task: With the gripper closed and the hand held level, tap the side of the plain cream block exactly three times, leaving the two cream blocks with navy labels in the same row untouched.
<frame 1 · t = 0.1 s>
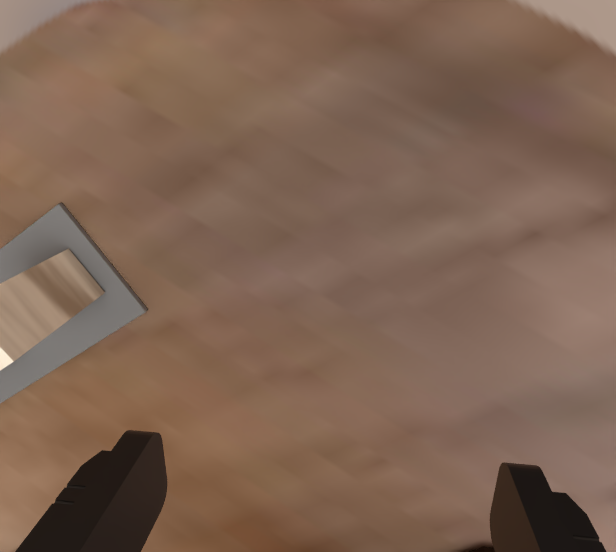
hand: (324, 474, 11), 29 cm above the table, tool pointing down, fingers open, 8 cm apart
plain block: (24, 311, 37), point 7 cm above the table, slide at 0.0 cm
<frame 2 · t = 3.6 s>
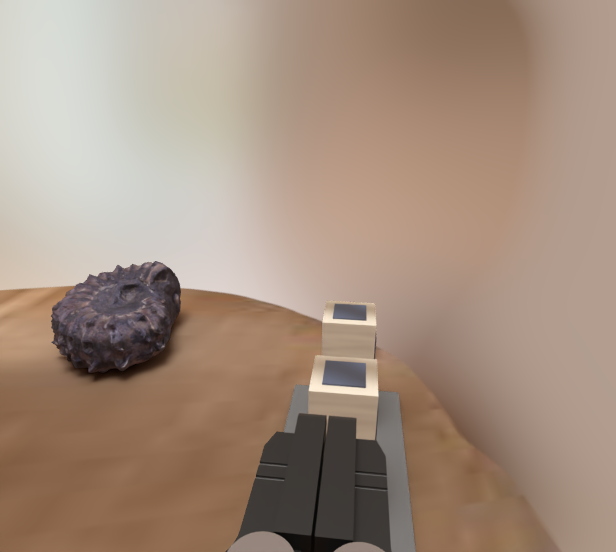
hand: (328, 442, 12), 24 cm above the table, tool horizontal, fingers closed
gray mat: (339, 498, 40), on the table
labelled block 2: (345, 413, 50), resting on gray mat
labelled block 1: (339, 493, 40), resting on gray mat
dark grey rough lump: (134, 345, 65), on the table
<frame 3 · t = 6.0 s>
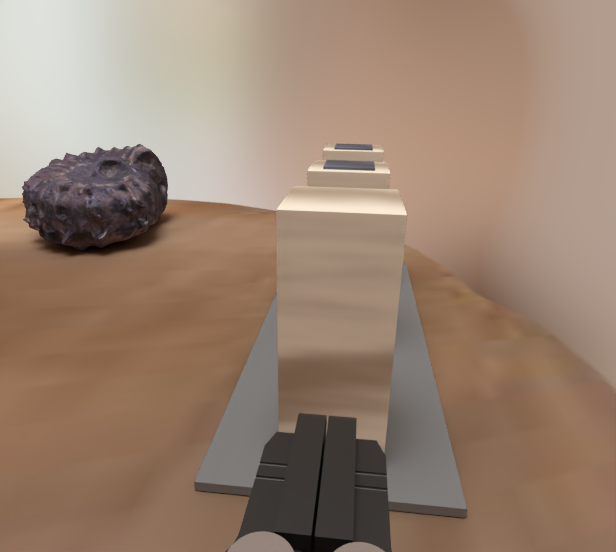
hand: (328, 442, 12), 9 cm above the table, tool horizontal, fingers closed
gray mat: (341, 335, 35), on the table
labelled block 2: (347, 276, 45), resting on gray mat
plain block: (338, 322, 22), point 7 cm above the table, slide at 0.0 cm
labelled block 1: (341, 329, 35), resting on gray mat
dark grey rough lump: (115, 235, 59), on the table
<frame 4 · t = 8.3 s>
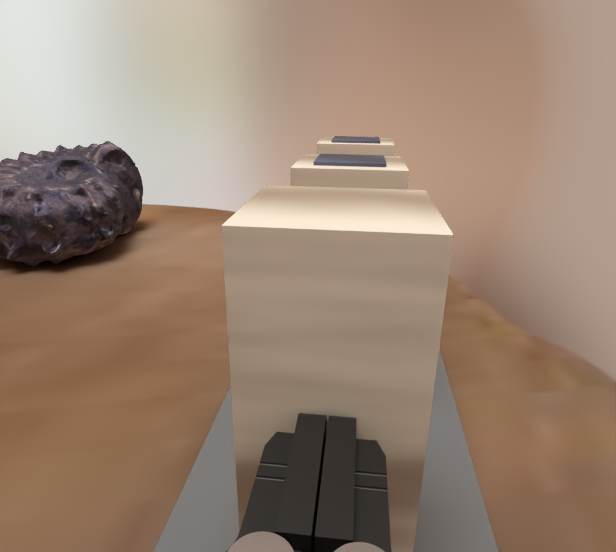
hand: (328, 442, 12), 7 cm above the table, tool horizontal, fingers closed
gray mat: (341, 385, 27), on the table
labelled block 2: (348, 299, 37), resting on gray mat
plain block: (333, 394, 15), point 7 cm above the table, slide at 0.7 cm, touching gripper
labelled block 1: (341, 377, 26), resting on gray mat
dark grey rough lump: (79, 246, 51), on the table
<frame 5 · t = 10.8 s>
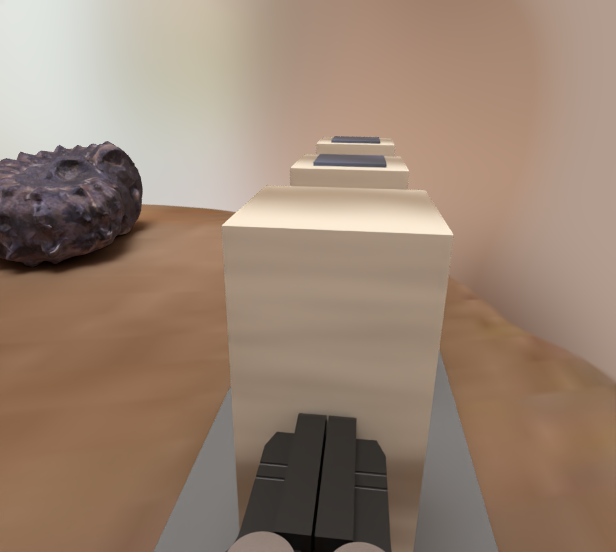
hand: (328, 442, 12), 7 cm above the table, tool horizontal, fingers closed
gray mat: (341, 386, 26), on the table
labelled block 2: (348, 300, 36), resting on gray mat
plain block: (333, 395, 15), point 7 cm above the table, slide at 0.8 cm, touching gripper
labelled block 1: (341, 379, 26), resting on gray mat
dark grey rough lump: (79, 247, 51), on the table
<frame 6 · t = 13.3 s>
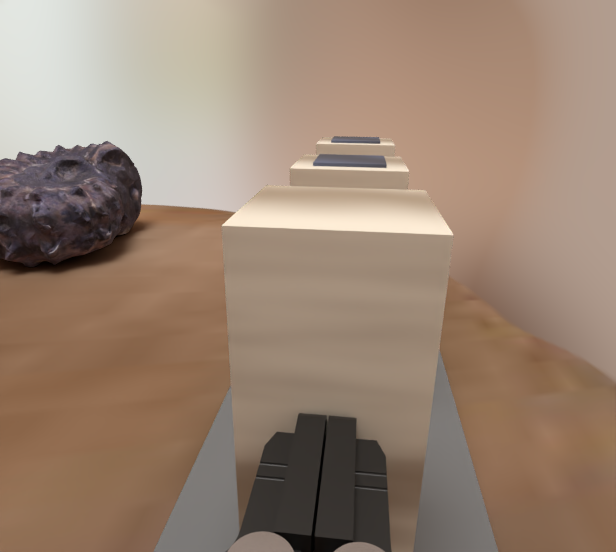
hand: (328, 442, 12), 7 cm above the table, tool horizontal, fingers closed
gray mat: (340, 387, 26), on the table
labelled block 2: (348, 300, 36), resting on gray mat
plain block: (333, 395, 15), point 7 cm above the table, slide at 0.9 cm, touching gripper
labelled block 1: (341, 379, 26), resting on gray mat
dark grey rough lump: (78, 247, 51), on the table
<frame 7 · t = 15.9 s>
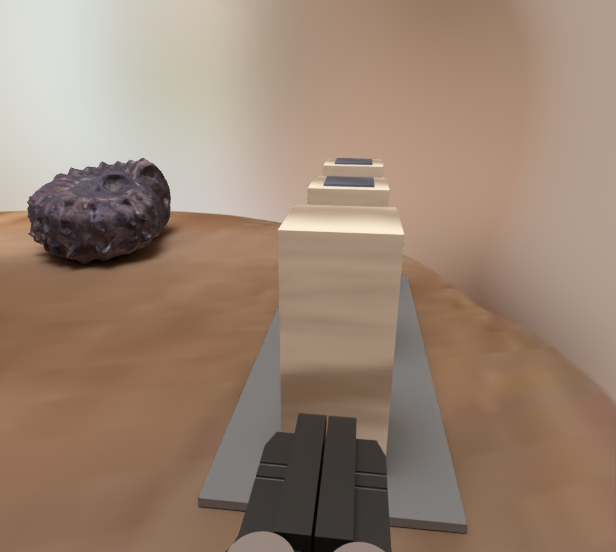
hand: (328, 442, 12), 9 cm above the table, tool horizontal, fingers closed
gray mat: (343, 348, 35), on the table
labelled block 2: (348, 288, 45), resting on gray mat
plain block: (338, 337, 23), point 7 cm above the table, slide at 0.2 cm
labelled block 1: (343, 342, 35), resting on gray mat
dark grey rough lump: (119, 248, 60), on the table
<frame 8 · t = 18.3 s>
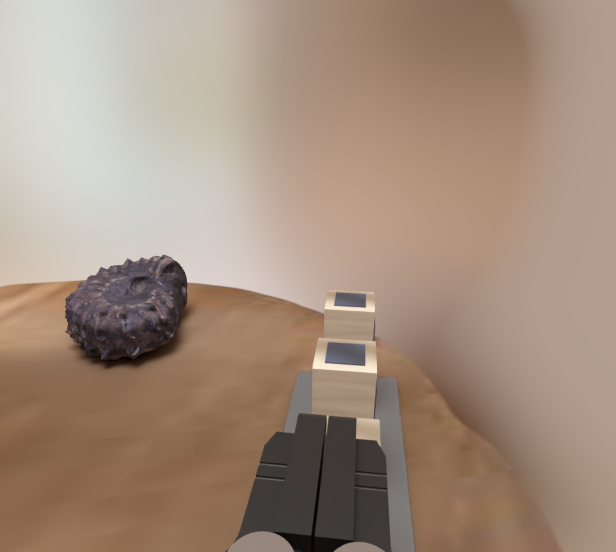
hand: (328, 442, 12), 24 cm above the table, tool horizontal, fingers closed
gray mat: (340, 472, 43), on the table
labelled block 2: (345, 396, 53), resting on gray mat
plain block: (336, 516, 31), point 7 cm above the table, slide at 0.2 cm
labelled block 1: (340, 468, 43), resting on gray mat
dark grey rough lump: (143, 335, 67), on the table
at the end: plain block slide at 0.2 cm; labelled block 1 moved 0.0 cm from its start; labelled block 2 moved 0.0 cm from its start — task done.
